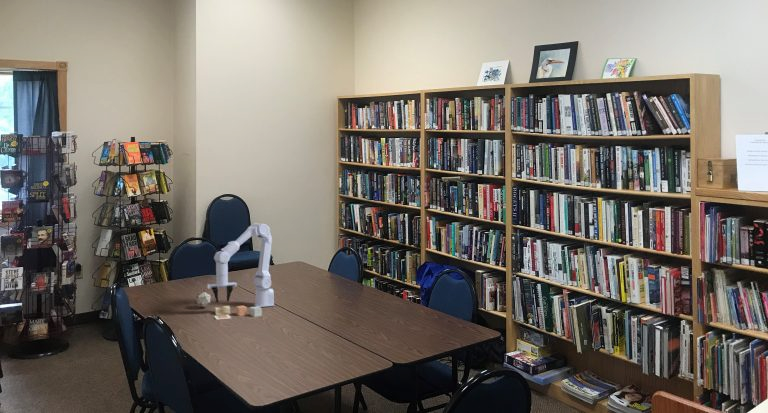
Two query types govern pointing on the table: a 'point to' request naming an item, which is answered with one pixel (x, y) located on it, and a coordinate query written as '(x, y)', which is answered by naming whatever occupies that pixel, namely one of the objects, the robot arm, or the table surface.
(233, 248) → the robot arm
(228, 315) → the tile
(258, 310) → the grey block
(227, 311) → the maple block
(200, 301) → the game die
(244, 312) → the terracotta block
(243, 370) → the table surface
